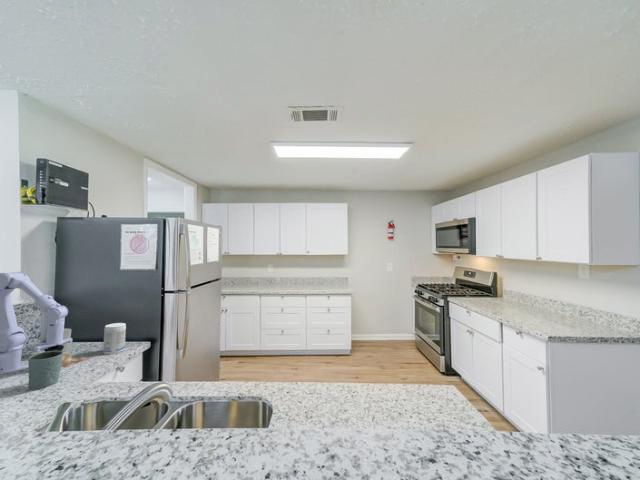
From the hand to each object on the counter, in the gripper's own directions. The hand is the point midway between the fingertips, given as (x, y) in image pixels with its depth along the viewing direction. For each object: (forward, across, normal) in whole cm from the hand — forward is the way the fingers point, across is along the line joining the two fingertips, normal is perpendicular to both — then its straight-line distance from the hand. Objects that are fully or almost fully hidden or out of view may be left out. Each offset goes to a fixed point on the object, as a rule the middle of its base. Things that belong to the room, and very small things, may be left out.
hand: (52, 362), depth 127 cm
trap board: (+2, +8, 0) cm, 8 cm away
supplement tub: (+3, +24, -8) cm, 25 cm away
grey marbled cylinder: (+3, +14, +16) cm, 22 cm away
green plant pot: (+3, -14, -15) cm, 21 cm away
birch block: (+2, +4, 0) cm, 5 cm away
